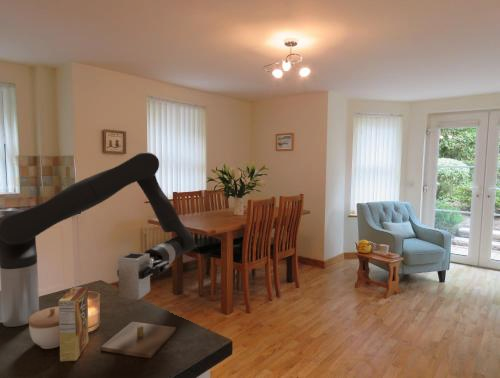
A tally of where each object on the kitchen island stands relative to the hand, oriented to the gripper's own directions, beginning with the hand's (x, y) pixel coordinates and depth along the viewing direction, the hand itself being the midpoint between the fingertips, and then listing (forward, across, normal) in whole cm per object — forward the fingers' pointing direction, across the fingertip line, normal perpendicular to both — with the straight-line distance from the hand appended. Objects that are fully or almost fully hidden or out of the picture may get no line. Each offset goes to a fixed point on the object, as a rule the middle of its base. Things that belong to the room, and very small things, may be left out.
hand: (129, 274), depth 90 cm
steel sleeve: (-2, 0, +6) cm, 7 cm away
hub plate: (+1, +3, +18) cm, 18 cm away
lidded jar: (+7, -19, +18) cm, 27 cm away
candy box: (+9, -10, +18) cm, 23 cm away
